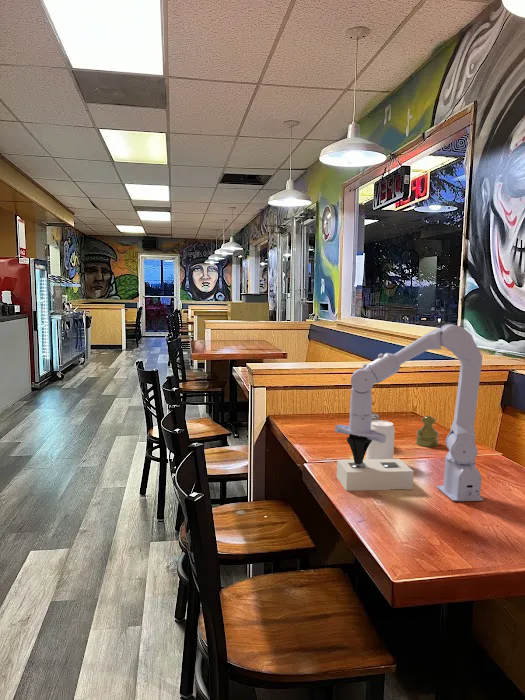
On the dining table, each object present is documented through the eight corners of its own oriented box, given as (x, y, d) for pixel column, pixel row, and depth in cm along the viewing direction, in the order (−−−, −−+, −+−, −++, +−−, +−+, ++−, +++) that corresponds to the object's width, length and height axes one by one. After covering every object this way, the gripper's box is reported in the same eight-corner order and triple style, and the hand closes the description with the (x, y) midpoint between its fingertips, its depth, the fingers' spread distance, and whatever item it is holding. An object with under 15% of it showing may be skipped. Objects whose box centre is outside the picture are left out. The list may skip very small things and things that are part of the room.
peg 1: (366, 484, 134) (367, 468, 133) (352, 484, 133) (353, 468, 133) (362, 478, 138) (363, 463, 137) (348, 479, 137) (348, 463, 137)
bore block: (412, 489, 132) (413, 471, 132) (346, 490, 130) (347, 472, 130) (398, 475, 142) (399, 458, 141) (336, 477, 140) (337, 459, 140)
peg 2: (399, 483, 135) (400, 467, 134) (385, 483, 134) (385, 467, 134) (393, 478, 139) (394, 462, 138) (379, 478, 138) (380, 462, 138)
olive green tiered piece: (416, 446, 171) (418, 417, 170) (415, 440, 179) (416, 413, 177) (439, 448, 170) (441, 419, 169) (436, 442, 177) (438, 414, 176)
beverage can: (393, 458, 158) (395, 421, 156) (392, 466, 150) (394, 427, 148) (366, 455, 160) (368, 418, 158) (365, 463, 152) (367, 425, 151)
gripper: (392, 416, 132) (390, 466, 133) (345, 407, 141) (343, 453, 143) (379, 420, 126) (376, 472, 128) (331, 411, 136) (329, 459, 138)
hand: (358, 463), depth 135 cm, fingers closed
